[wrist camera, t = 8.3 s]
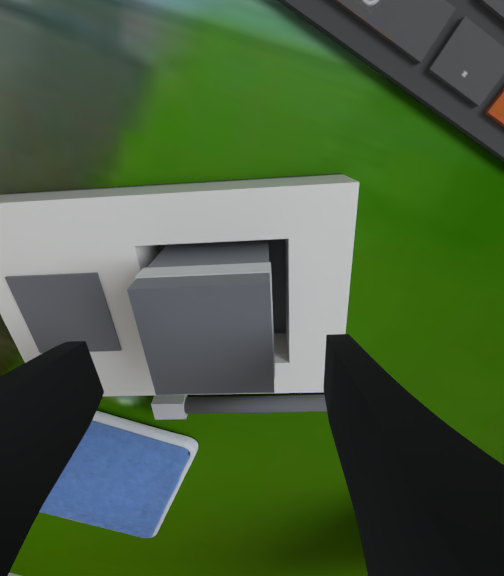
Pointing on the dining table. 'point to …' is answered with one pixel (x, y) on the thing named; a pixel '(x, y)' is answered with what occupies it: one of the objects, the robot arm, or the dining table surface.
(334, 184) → the switch plate
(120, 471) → the tablet computer
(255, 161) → the dining table surface
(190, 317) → the block
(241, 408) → the cable
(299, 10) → the calculator
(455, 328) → the dining table surface
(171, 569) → the dining table surface
